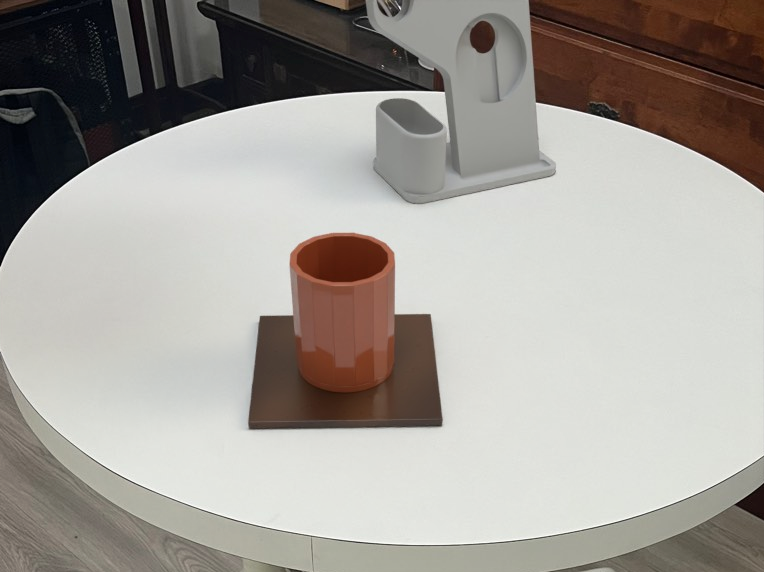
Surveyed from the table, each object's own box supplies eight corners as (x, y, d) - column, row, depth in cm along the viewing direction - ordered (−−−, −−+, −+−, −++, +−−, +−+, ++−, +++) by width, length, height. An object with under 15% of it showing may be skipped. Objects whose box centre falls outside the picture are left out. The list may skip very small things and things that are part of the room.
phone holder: (408, 206, 96) (411, 3, 83) (364, 164, 102) (362, -30, 90) (560, 173, 102) (585, -22, 89) (510, 135, 108) (527, -51, 95)
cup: (295, 393, 74) (287, 286, 67) (299, 337, 79) (291, 232, 72) (395, 392, 74) (396, 285, 68) (392, 336, 79) (393, 232, 73)
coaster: (248, 428, 72) (247, 422, 71) (260, 321, 81) (259, 315, 81) (442, 426, 72) (442, 419, 72) (430, 319, 82) (430, 313, 82)
